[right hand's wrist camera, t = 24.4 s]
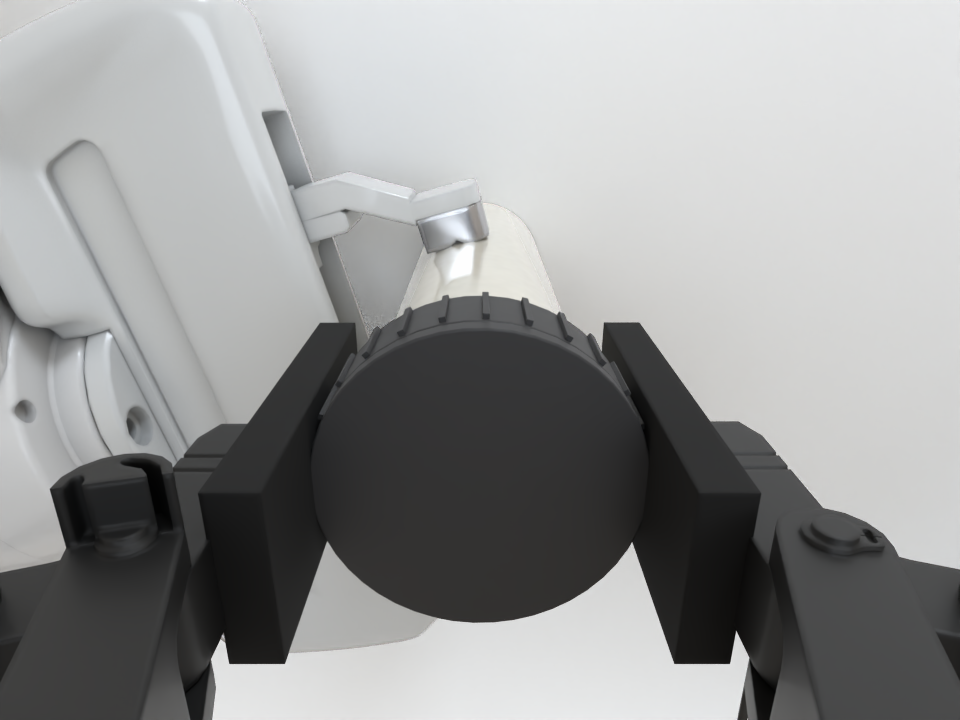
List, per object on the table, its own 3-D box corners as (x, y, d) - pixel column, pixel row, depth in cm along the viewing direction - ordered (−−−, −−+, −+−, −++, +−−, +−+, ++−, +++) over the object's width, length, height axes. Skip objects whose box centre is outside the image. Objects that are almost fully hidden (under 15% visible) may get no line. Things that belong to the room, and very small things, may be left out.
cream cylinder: (400, 243, 25) (297, 424, 11) (497, 178, 24) (523, 286, 10) (463, 335, 26) (444, 600, 12) (558, 277, 26) (653, 492, 12)
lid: (301, 305, 11) (270, 340, 9) (632, 277, 11) (658, 308, 9) (353, 569, 13) (335, 636, 11) (632, 550, 13) (654, 615, 11)
